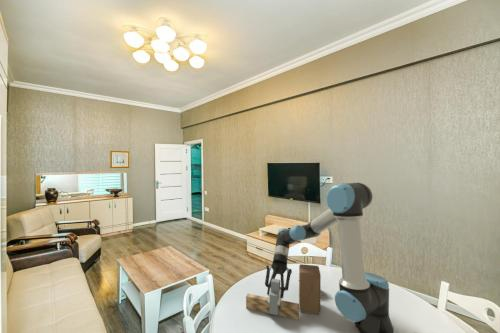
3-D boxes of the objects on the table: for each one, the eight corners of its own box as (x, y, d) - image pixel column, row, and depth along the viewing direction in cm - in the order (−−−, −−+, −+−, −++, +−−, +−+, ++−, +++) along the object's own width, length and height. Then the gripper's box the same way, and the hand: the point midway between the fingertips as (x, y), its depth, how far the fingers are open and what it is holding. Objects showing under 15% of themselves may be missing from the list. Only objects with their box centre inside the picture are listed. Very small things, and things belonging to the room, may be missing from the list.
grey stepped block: (273, 303, 116) (273, 276, 116) (281, 304, 115) (281, 277, 115) (269, 313, 108) (269, 284, 108) (277, 315, 107) (277, 285, 107)
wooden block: (320, 315, 109) (320, 273, 109) (299, 312, 111) (299, 271, 111) (318, 303, 119) (318, 265, 119) (299, 300, 121) (299, 263, 121)
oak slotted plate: (298, 316, 109) (298, 303, 109) (298, 319, 106) (298, 306, 106) (247, 305, 117) (247, 293, 117) (246, 308, 115) (246, 296, 115)
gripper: (297, 261, 123) (292, 310, 107) (266, 257, 129) (258, 302, 113) (296, 255, 118) (291, 305, 102) (264, 251, 124) (254, 298, 108)
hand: (273, 304), depth 108 cm, fingers closed on grey stepped block, 4 cm apart
